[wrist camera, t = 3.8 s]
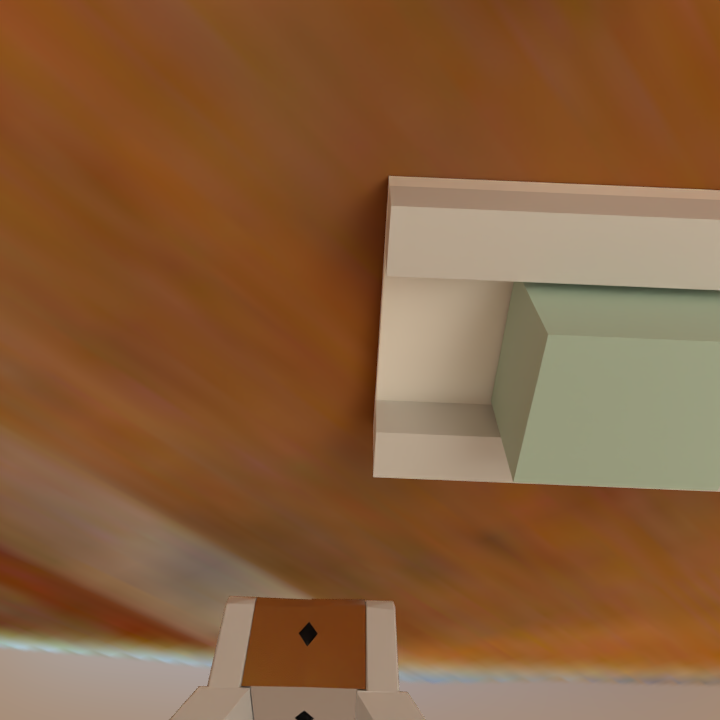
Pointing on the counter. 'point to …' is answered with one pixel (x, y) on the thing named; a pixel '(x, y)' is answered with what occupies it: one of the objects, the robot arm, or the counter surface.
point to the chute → (504, 296)
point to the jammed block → (610, 386)
